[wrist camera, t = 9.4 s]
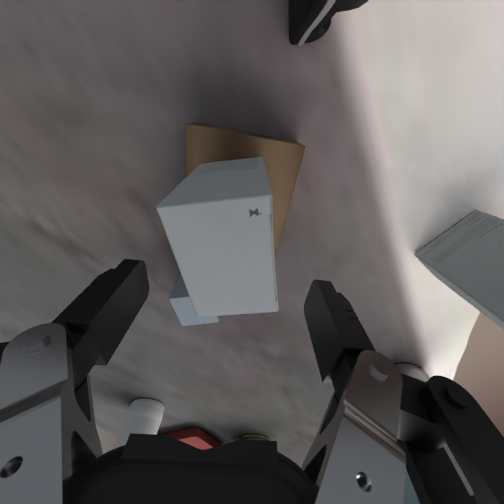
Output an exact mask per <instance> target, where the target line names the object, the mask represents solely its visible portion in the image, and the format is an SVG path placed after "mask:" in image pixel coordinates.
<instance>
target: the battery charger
mask: <svg viewBox="0 0 504 504" xmlns="http://www.w3.org/2000/svg"><path fill="white" fill-rule="evenodd" d="M367 1H368V0H289V41H290V44H292V45H295V44H297V46H299V45H303V44H304V43H310V42H313V41H315V40H317V39H319V38H321V37H322V36H323V35H324V34H325V33H326V31H327V30H328V28H329V26H330V23H331V18H332V17H333V16H334V14H335V13H336V12H340V11H347V10H352V9H355V8H359V7H360V6H362V5H363V4H365V3H366V2H367Z"/></svg>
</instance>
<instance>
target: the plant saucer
mask: <svg viewBox="0 0 504 504" xmlns="http://www.w3.org/2000/svg"><path fill="white" fill-rule="evenodd" d="M160 435H168V436H170V437H173V438H175V439H177V440H180V441H182V442H184V443H187V444H189V445H191V446H194V447H196V448H198V449H201V450H206V449H210V448H213V447H217V446H220V445H221V443H219V442H218V441H216V440H215V439H213V438H212V437H211V436H209V435H208V434H206V433H205V432H203V431H202V430H200V429H199V428H196V427H195V428H190V429H185V430H180V431H175V432H170V433H165V434H160Z"/></svg>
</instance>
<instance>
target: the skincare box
mask: <svg viewBox="0 0 504 504" xmlns="http://www.w3.org/2000/svg"><path fill="white" fill-rule="evenodd" d="M415 256H416V257H417V258H418V259H419V260H420V261H421V262H422V263H423V264H424V266H425V267H426V268H427V269H428V270H429V271H430V272H431V273H432V274H433V275H434V276H435V277H436V278H438V279H439V280H440V281H441V282H443V283H444V284H445V285H447V286H448V287H449V288H450V289H452V290H453V291H454V292H456V293H457V294H458V295H460V296H461V297H462V298H463V299H465V300H466V301H467V302H469V303H470V304H471V305H473V306H474V307H475V308H476V309H478V310H479V311H480V312H482V313H483V314H484V315H485V316H487V317H488V318H489V319H491V320H492V321H493V322H494V323H496V324H497V325H498V326H500V327H501V328H502V329H503V330H504V220H503V219H501V218H498V217H495V216H492V215H489V214H486V213H483V212H480V211H478V210H475V211H474V212H472V213H471V214H470V215H468V216H467V217H465V218H464V219H463V220H461V221H460V222H459V223H457V224H456V225H454V226H453V227H452V228H450V229H449V230H447V231H446V232H445V233H443V234H442V235H440V236H439V237H438V238H436V239H435V240H433V241H432V242H431V243H429V244H428V245H426V246H425V247H424V248H422V249H421V250H420V251H418V252H417V253H415Z"/></svg>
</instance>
